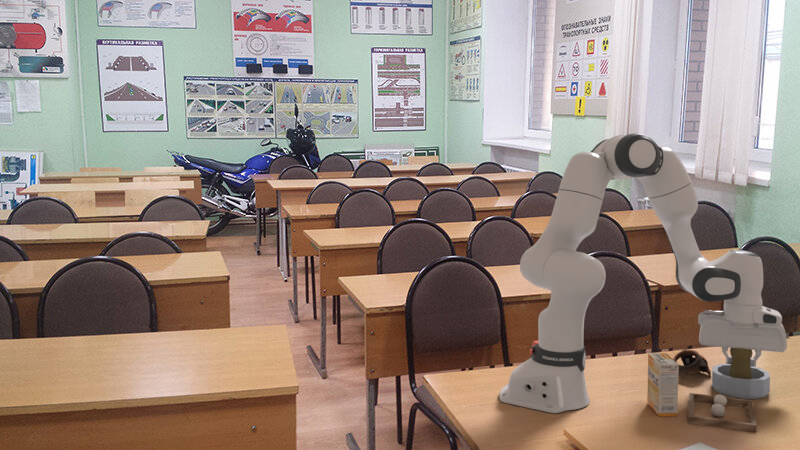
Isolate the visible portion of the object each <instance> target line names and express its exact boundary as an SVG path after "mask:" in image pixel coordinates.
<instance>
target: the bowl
mask: <svg viewBox="0 0 800 450" xmlns="http://www.w3.org/2000/svg"><path fill="white" fill-rule="evenodd" d="M730 367H731V364H726V363H720V364H717V365H714V366H712V367H711V368H712V369H711V370H712V371H711V372H712V373H711V383H712V384H711V386H712V389H713V391H715V392H717V393H719V394H720V395H724V396H726V397H729V398H738V399H747V400H758V399H763V398H766V397H767V396H769V393H770V391H771V389H770V388H771V387H770V386H771V375H770V373H769V371H767V370H765V369H763V368H760V367H757V366H756V367H754V366H751V375H752V379H740V378H734V377H730V376H729V372H730Z"/></svg>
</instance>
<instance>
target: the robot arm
mask: <svg viewBox="0 0 800 450" xmlns="http://www.w3.org/2000/svg"><path fill="white" fill-rule="evenodd" d="M634 178H636V179H637V180H638V181H639V182H640V183H641V184H642V186H643V187H644V190H645V194H646V196H647V198H648V201H649V203H650V205H651V207H652V209H653V211H654V214H655V215H656V216H657V218H658V219H659V221H660V223H661V225H662V226H663V228H664V231H665V233H666V236H667V239H668V241H669V244H670V247H671V250H672V252H673V255H674V258H675V281H676V282H677V284H678V286H679V287H680V288H681V289H682V290H683V291H685V292H686V293H689V294H691V295H693V296H694V297H696V298H697V299H699V300H701V301H704V302H708V303H715V302H723V310H708V309H705V310H704V311H702V312H699V314H698V316H697V323H698V325H699V326H700V327H699V328H700V329H699V333H698V334H699V335H698V341H699V343H700V344H701V346H703V347H704V346H706V347H717V348H719V347H720V348H721V352H722V353H723V355H724V357H725V364H732V363H733V362H732V361H733V358H732V356H731V355H729V353H728V351H729V349H731V348H743V349H750V350H752V351H754V355H753V356H752V357H751V358H750V366H754V367H757V361H758V359H759V358H760V357H761V356H762V351H763V352H765V351H766V352H775V353H784V352H785V351H787V348H788V341H787V334H786V330H785V327H784V325H783V324H782V322H783V316H782V315H781V313H780V311H778V310H776V309H773V308H769V307H766V306H764V305H763V299H762V298H763V297H762V290H763V287H764V266H763V261H762V258H761V257H760V256H759V254H757V253H754V252H752V251H747V250H742V249H730V250H728V251H727V252H726V253H725V254H723V255H722V256H720V257H718V258H716V259H713V260H708V259H707V258H706V257H704V255H702V253H701V251H700V248H699V246H698V244H697V241H696V237H695V235H694V232H693V229H692V225H691V224H692V223H691V221H692V218H693V217H694V215H695V214H696V213H697V210H698V207H699V203H698V197H697V192H696V190H695V187H694V184H693V181H692V179H691V177H690V175H689V173H688V170H687V169H686V167H685V166H684V163H683V161H682V160H681V159H680V157H679V155H678V154H677V153H676V151H675V150H673V149H672V148H670V147H667V146H665V147H664V146H663V147H662V146H661V147H660V146H659V145H658V144H657V143H656V141H655V140H653V138H651V137H650V136H648V135H646V134H642V133H636V132H634V133H628V134H618V135H615V136H613V137H610V138H608V139H607V138H606V139H604V140H602V141H600V142H599V143H598V144H595V146H594V147H593V148H592V150H591V151H582V152H577V153H575V154H573V156H571V158H570V159H569V161H568V163H567V165H566V168H565V170H564V173H563V176H562V179H561V181H560V184H559V188H558V191H557V195H556V198H555V202H554V205H553V209H552V213H551V215H550V219H549V221H548V223H547V226H545V227H546V228H545V229H544V231H543V232H542V233H541V234H540V237H539V238H538V240H537V241H536V242H535V243H534V244H533V245H532V246H531V247H529V248H528V249H526V250H525V252H524V253H523V254H522V255H521V258H520V260H519V269H520V272H521V275H522V277H523V278H524V279H525V280H526V281H527V282H529V283H530V284H532V285H534V286H535V287H538V288H541V289H545V290H548V291H550V300H549V304H548V305H547V307H546V308H544V309H543V310H542V311H541V312H540V313H539V315H538V319H537V322H538V323H537V324H538V325H537V327H538V336H537V337H538V339H537V340H534V341H533V342H532V344H531V347H530V350H529V355H530V358H528V359H527V360H525V361H524V362H521V364H519V365H518V366H516V367H515V368H514V369H513V370H512V372H511V374H510V376H509V379H508V380H509V381H508V384H505V385H504V386H503V387H502V388H501V390H500V392H499V396H498V397H499V401H500V402H502V403H505V404H508V405H509V404H510V405H513V406H514V405H515V406H518V407H519V406H520V407H523V408H527V409H532V410H536V411H541V412H546V413H550V414H558V413H559V414H560V413H562V412H566V411H573V410H579V409H582V408H585V407H587V406H588V405H589V404H590V403H591V401H590V397H589V395H588V389H587V385H586V378H585V368H586V359H587V358H586V347H585V345H584V329H585V327H584V326H585V317H586V312H587V309H588V307H589V304H590V302H591V300H593V298H594V297H596V296H598V294H599V293H600V292H601V291H602V289H603V288H604V286H605V283H606V279H607V278H606V276H607V275H606V270H605V266H604V265H603V263H602V262H601V261H600V260H599V259H598V258H595V257H593V256H592V255H590V254H587V253H585V252H581V251H577V249H578V247H579V245H580V244H581V242H582V241H583V240H584V239H586V237H588V236H590V235H592V233H594V232H595V230H596V228H597V223H598V221H599V220H598V219H599V216H600V214H601V213H600V212H601V209H602V205H603V201H604V196H605V191H606V189H607V187H608V184H609V183H610V181H612V180H613V181H614V180H629V179H634Z"/></svg>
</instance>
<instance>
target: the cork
mask: <svg viewBox="0 0 800 450" xmlns="http://www.w3.org/2000/svg"><path fill="white" fill-rule="evenodd" d="M729 352H730V356H732V358H733V361H732V362H733V363H732V364H731V367H730V372H729V376H730V377H734V378H740V379H752V375H751V366H750V358H753V350H750V349H743V348H729Z"/></svg>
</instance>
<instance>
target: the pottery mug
mask: <svg viewBox="0 0 800 450" xmlns="http://www.w3.org/2000/svg"><path fill="white" fill-rule="evenodd" d="M672 359H673V360H674V361H675V362H677V363H678V360H680V359H681V362H682V364H683V365H681V364H679V372H678V376H679V375H683V376H688V375H691V374H695V373H698V374H701V373H706V374H707V375H708V377H709V378H712V373H711V372H712V371H711V369H710V367H709V364H708V363H709V362H708V361H707V358H705V357H704V356H703V355H701V354H699V352H698V351H696V350H694V349H688V348H687V349H686V348H685V349H682V350H681V351H679V352H678V353H676V354H675V356H674V357H672Z"/></svg>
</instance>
